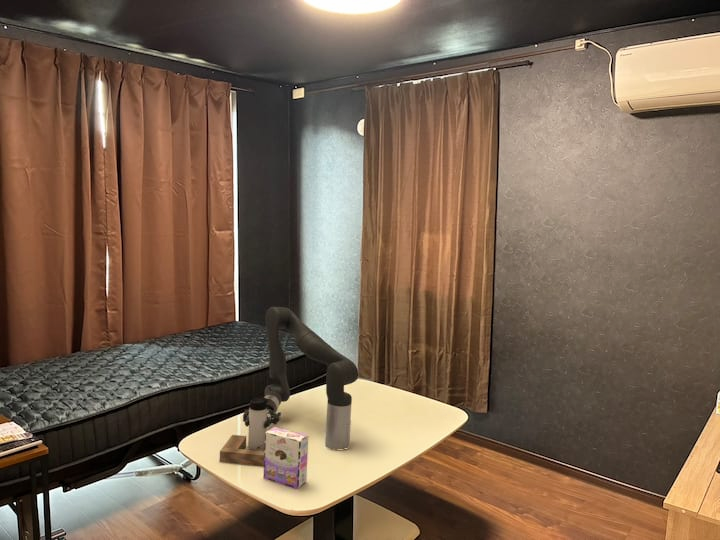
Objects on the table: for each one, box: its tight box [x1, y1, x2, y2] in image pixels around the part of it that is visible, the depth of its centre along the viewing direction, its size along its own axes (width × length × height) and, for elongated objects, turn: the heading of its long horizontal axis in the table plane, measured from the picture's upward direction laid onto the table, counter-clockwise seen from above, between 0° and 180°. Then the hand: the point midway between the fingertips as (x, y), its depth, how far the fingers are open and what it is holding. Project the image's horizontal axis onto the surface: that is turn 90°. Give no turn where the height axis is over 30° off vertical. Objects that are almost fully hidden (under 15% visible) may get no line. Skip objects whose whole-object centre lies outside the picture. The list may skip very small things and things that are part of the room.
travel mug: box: [247, 396, 268, 451], centre depth 197 cm, size 6×7×20 cm
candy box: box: [263, 426, 310, 490], centre depth 180 cm, size 14×6×16 cm, turn 65°
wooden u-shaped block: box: [218, 434, 264, 467], centre depth 197 cm, size 22×14×4 cm, turn 86°
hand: (256, 424), depth 195 cm, fingers closed on travel mug, 6 cm apart
